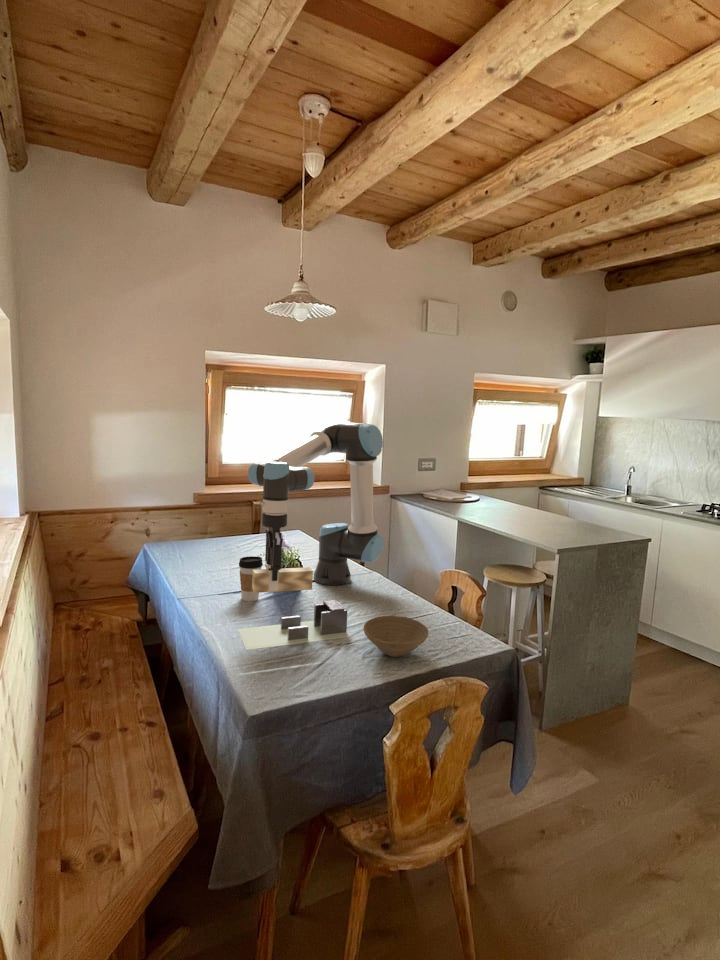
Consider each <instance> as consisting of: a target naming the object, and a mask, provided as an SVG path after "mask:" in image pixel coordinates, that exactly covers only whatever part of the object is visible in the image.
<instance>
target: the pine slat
mask: <svg viewBox="0 0 720 960" xmlns="http://www.w3.org/2000/svg"><path fill="white" fill-rule="evenodd" d="M269 571H270V570H268V569H266V568H263V569H262V568H261V569H257V570H253V576H252V590H253V592H254V593H259V594H261V593H275V592H291V591H292V592H293V591H309V590H313V581H314V571H313V569H312V568H311V567H288V568H287V567H285V568H282V567H281V570H279V580H278V591H269Z"/></svg>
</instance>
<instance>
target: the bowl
mask: <svg viewBox="0 0 720 960" xmlns="http://www.w3.org/2000/svg"><path fill="white" fill-rule="evenodd" d="M363 633H364V635H365V636H366V638H367V639H368V640H369V641H370V642H371V643H372V644H373V645H374V646H375V647H377V649H378V650H379V651H381V653H383V654H385V655H387V656H389V657H393V658H395V657H396V658H397V657H398V658H399V657H402V656H406V655H408V654H410V653H411V652H413V651H414V650H415V649H417V648H418V647H419V646H421V645H422V644H423V643H424V642H425V641H426V640H427V638H428V637H429V629H428V628H427V626H426V625H425V624H423V623H422V622H420V621H418V620H416V619H413V618H411V617H407V616H396V615H381V616H376V617H373V618H371V619H368V620H367V621H366V622H365V623H364V624H363Z"/></svg>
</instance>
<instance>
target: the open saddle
mask: <svg viewBox="0 0 720 960" xmlns="http://www.w3.org/2000/svg"><path fill="white" fill-rule="evenodd" d="M301 620H302V619H301V615H292V616H291V615H289V616H281V618H280V624H281V629H288V640H296V639H304V638H308V626H307V625H306V626H300V625H301V622H302V621H301Z"/></svg>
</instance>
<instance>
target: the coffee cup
mask: <svg viewBox="0 0 720 960" xmlns="http://www.w3.org/2000/svg"><path fill="white" fill-rule="evenodd" d="M263 563H264V562H263V558H262V556H243V557H240V558H239V562H238V567H239V580H240V582H239V583H240V592H241V593H240V594H241V600H242V601H244V602H255V601H257V600H259V595H260V593H254V592H253V590H252V576H253V570H257V569H262V567H263V566H264V565H263Z"/></svg>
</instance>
